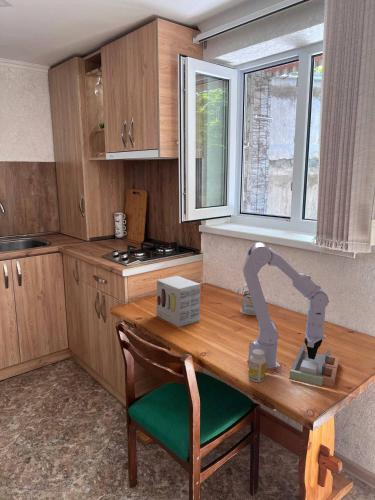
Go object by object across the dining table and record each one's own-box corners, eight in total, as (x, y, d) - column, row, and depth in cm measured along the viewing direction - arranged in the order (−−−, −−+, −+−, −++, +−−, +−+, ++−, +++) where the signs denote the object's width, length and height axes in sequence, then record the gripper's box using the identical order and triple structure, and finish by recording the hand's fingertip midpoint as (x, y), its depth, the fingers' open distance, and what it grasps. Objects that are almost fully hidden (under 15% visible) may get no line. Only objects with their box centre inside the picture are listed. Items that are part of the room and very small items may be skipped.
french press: (261, 315, 183) (264, 265, 178) (237, 314, 183) (240, 264, 179) (258, 308, 193) (261, 260, 188) (235, 307, 193) (237, 260, 188)
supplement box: (155, 316, 179) (155, 279, 175) (176, 310, 187) (177, 275, 184) (178, 327, 166) (179, 288, 162) (200, 320, 174) (201, 283, 171)
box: (301, 351, 146) (302, 344, 146) (339, 359, 140) (340, 352, 140) (289, 379, 126) (290, 370, 125) (333, 390, 120) (333, 381, 119)
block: (315, 381, 124) (316, 369, 123) (299, 377, 126) (300, 366, 125) (317, 374, 128) (318, 363, 127) (302, 370, 130) (303, 359, 130)
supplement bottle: (250, 382, 123) (252, 355, 121) (246, 374, 128) (248, 348, 126) (266, 382, 123) (268, 355, 122) (262, 373, 129) (263, 347, 127)
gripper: (324, 332, 123) (320, 370, 125) (329, 317, 136) (325, 352, 138) (302, 327, 126) (299, 364, 129) (309, 314, 139) (306, 348, 141)
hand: (311, 358), depth 134 cm, fingers closed
